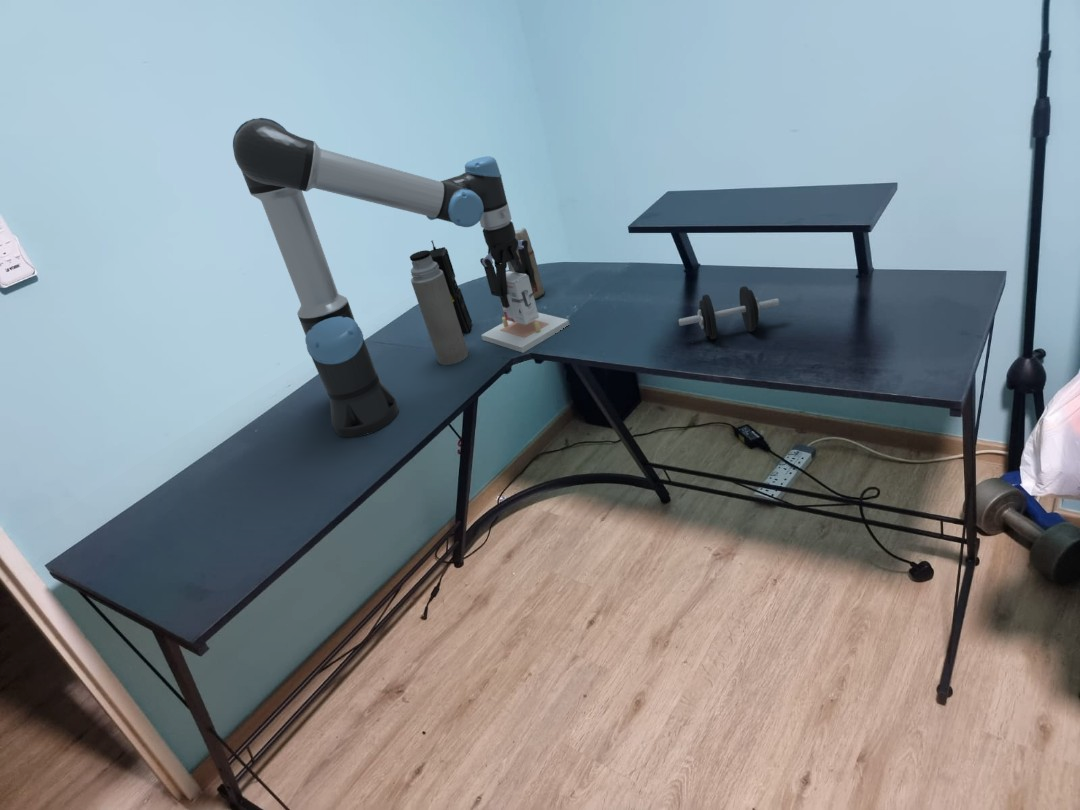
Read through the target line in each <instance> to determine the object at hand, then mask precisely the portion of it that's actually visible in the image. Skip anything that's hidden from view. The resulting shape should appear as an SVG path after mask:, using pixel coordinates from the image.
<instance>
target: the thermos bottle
mask: <svg viewBox="0 0 1080 810" xmlns="http://www.w3.org/2000/svg"><path fill="white" fill-rule="evenodd" d="M430 251H431V250H425V249H424V250H420V251H417V252H414V253H412V254H411V255H410V256H409V259H410V261H411V264H412V268H411V269H410V273H411V274H410V275H411V279H410V283H411V285H412V288H413V292H414V295H415V298H416V300H417V302H418V305H419V309H420V312H421V316H422V318H423V321H424V324H425V326H426V329H427V332H428V335H429V338H430V339H429V340H430V341H431V344H432V348H433V350H434V353H435V356H436V358H437V361H438V364H440V365H444V366H447V365H448V366H449V365H454V364H457V363H460V362H462V361H464V360H465V359H466V358H468V356H469V351H468V346H467V344H466V341H465V338H464V334H462V331H461V327H460V324H459V321H458V318H457V315H456V312H455V308H454V305H453V302H452V299H451V295H450V292H449V289H448V286H447V283H446V280H445V276H444V273H443V271H442V270H440V269H439V265H438V264H437V262H434V261H433V260H432V257H431V256H430Z"/></svg>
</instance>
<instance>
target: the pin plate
mask: <svg viewBox="0 0 1080 810" xmlns="http://www.w3.org/2000/svg"><path fill="white" fill-rule="evenodd" d="M538 315H539V318H537V319H536V320H534V321H532V322H530V323H528V324H527V325H524V324H520V323H516V322H512V321H508V320H506V319H505V316H502V317H501V320H502V321H501V322H502V323H500V324H498V325H496V326H495V327H493V328H492V329H489V330H488V331H486V332H484V333H482V334H481V339H482V341H485V342H488V343H492V344H493V345H496V346H497V345H498V346H501V347H504V348H506V349H509V350H513V351H515V352H520V353H522V354H524V353H526V352H527V351H528V350H530V349H532V348H534V347H535V346H537V345H538V344H540V343H542V342H543V341H546V340H547V339H549V338H550V337H552V336H554V335H556V334H557V333H560V332H561V331H562V330H564V329H566V328H567V327H566V326H568V325H569V326H570V320H569V319H567V318H562V317H559V316H554V315H550V314H546V313H543V312H542V313H541V312H538ZM569 326H568V327H569ZM565 327H566V328H565ZM563 328H564V329H563ZM560 330H561V331H560ZM555 333H556V334H555Z"/></svg>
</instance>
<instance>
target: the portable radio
mask: <svg viewBox="0 0 1080 810" xmlns="http://www.w3.org/2000/svg"><path fill="white" fill-rule="evenodd" d="M430 243H432V244H431V245H432V249H431V250H429V251H430V256H431V257H432V260H433V261H434V262H437V264H438V265H439V269H440V270H442V271H443V273H444V276H445V280H446V283H447V286H448V289H449V292H450V295H451V299H452V302H453V305H454V308H455V312H456V315H457V318H458V321H459V324H460V327H461V331H462V334H463V335H466V334H469V333H470V331H471V328H472V322H473V320H472V318H471V315H470V313H469V310H468V307H467V305H466V301H465V299H464V296H463V292H462V290H461V288H459V286H458V283H457V281H456V274H455V270H454V268H453V267H454V266H453V264H452V261H451V258H450V255H449V252H448V249H447V248H446V247H445V246H444V247H439V248H437V247H436V246H435V244H434V240H431V241H430Z"/></svg>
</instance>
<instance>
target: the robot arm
mask: <svg viewBox="0 0 1080 810" xmlns="http://www.w3.org/2000/svg"><path fill="white" fill-rule="evenodd" d="M232 149H233V150H232V151H233V155H234V159H235V161H236V162H235V163H236V164H237V166H238V168H239V169H240V170H241V173H242V176H243V178H244V179H243V180H244V181H245V184H246V186H247V188H248V191H249V194H250V196H253V197H254V198H256V199H258V200H259V201H260V202H261V203H262V206H263V209H264V211H265V214H266V217H267V221H268V222H269V224H270V227H271V230H272V232H273V235H274V238H275V240H276V243H277V245H278V248H279V250H280V253H281V257H282V259H283V262H284V264H285V267H286V269H287V272H288V275H289V276H290V280H291V282H292V285H293V286H294V290H295V292H296V294H297V298H298V300H299V303H300V307H299V308H298V309H299V310H298V311H297V317H298V319H299V322H300V325H301V326H302V330H303V333H304V335H305V337H304V339H305V345H306V350H307V352H308V354H309V356H310V357H311V359H312V361H313V365H314V366H315V368H316V371H317V373H318V376H319V377H320V379H321V382H322V384H323V387H324V390H325V391H326V393H327V396H328V398H329V403H330V418H331V425H332V427H333V429H334V432H335V434H337V436H340V437H344V438H355V437H356V436H357V437H361V436H360V435H362V436H365V435H364V434H366V435H368V434H367V433H369V434H372V433H374V432H376V431H379V430H380V429H382V428H384V427H385V426H387V425H389V424H390V423H392V421H394V419H396V417H397V415H398V413H399V412H400V407H399V405H398V402H397V400H396V397H395V396H394V395H393V394H392V393H391V392H390V390H389V389H388V388H387V386H385V384H383V382H382V381H381V379H380V377H379V374H378V371H377V369H376V368H375V364H374V361H373V359H372V356H371V355H370V354H371V353H370V352H369V348H368V347H367V343H366V341H365V339H364V334H363V331H362V328H360V326H359V325H358V323H357V322H356V320H355V318H354V314H353V311H352V309H351V307H350V303H349V300H348V298H347V297H346V296H344V295H341V294H340V293H339V292H338V289H337V287H336V283H335V280H334V277H333V275H332V271H331V270H330V267H329V264H328V261H327V258H326V255H325V252H324V250H323V247H322V244H321V241H320V238H319V235H318V232H317V230H316V227H315V224H314V222H313V218H312V216H311V213H310V210H309V207H308V205H307V202H306V199H305V196H304V193H303V192H308V191H310V190H312V189H317V190H321V191H325V192H329V193H333V194H336V195H339V196H340V195H341V196H345V197H349V198H353V199H357V200H361V201H366V202H369V203H373V204H377V205H380V206H381V205H382V206H385V207H390V208H394V209H398V210H402V211H406V212H410V213H414V214H418V215H423V216H426V218H427V219H428V220H430V221H434V220H442V221H445V222H448V223H453V224H454V225H455V226H458V227H461V228H471V227H473V226H475V225H477V224H478V223H479V224H480V227H481V228H482V234H483V238H484V241H485V244H486V246H487V255H486V256H485V257H484V258H483V257H482V258H480V264H481V265H482V266H483V269H484V272H485V277H486V279H487V282H488V286H489V290H490V293H491V296H495V297H498V298H499V297H500V298H499V300H501V301H500V304H501V303H502V305H501V307H502V306H503V307H504V308H505V309H506V312H507V316H508V317H509V318H512V319H515V318H517V317H516V314H515V310H514V306H513V303H512V299H511V295H510V294H508V293H507V282H506V272H507V268H508V264H507V262H508V261H509V262H510V263H511V265H512V267H513V269H514V271H515V272H517V273H522V274H527V275H528V276H529V280H530V284H531V283H532V281H531V279H533V278H534V272H533V268H532V265H531V261H530V257H529V253H528V242H527V241H526V240H517V239H516V238H515V236H516V233H515V230H516V229H515V226H514V222H513V221H511V220H512V215H511V211H510V207H509V203H508V199H507V196H506V191H505V188H504V183H503V180H502V174H501V172H500V168H499V164H498V162H497V160H496V158H495V157H493V156H481V157H476V158H474V159H472V160H469V161H467V162H466V163H465V164H464V173H461V174H460V175H457V176H453V177H450V178H447V179H444V180H440V181H439V180H435V179H432V178H428V177H425V176H421V175H417V174H413V173H410V172H407V171H402V170H400V169H399V170H398V169H396V168H393V167H388V166H384V165H380V164H378V163H375V162H374V163H373V162H370V161H366V160H363V159H359V158H356V157H351V156H348V155H345V154H341V153H337V152H334V151H330V150H327V149H323V148H320V147H319V145H318V143H317V142H316V141H314V140H311V139H307V138H304V137H301V136H299V135H297V134H294V133H291V132H289V131H288V130H287V129H286V128H285V127H284V126H283V125H281V124H280V123H279V122H278V121H275V120H273V119H270V118H265V117H259V118H257V117H256V118H251V119H249V120H245V122H243V123H242V124H241V125H240V126H239V127H238V128H237V129H236V130H235V133H234V135H233V139H232ZM517 248H518V253H519V256H520V259H519V257H518V255H517V253H516V251H517ZM519 260H521V263H520V261H519ZM493 264H494V265H493ZM521 264H522V265H521ZM371 432H372V433H371Z"/></svg>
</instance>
